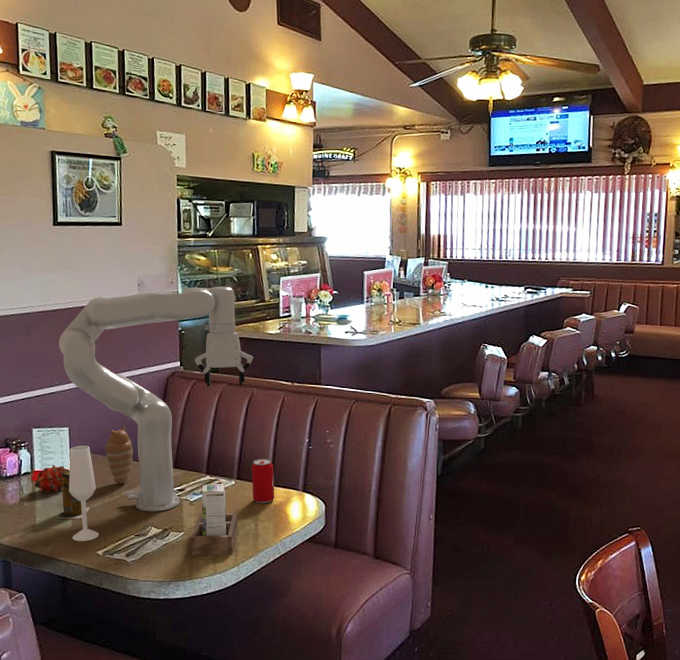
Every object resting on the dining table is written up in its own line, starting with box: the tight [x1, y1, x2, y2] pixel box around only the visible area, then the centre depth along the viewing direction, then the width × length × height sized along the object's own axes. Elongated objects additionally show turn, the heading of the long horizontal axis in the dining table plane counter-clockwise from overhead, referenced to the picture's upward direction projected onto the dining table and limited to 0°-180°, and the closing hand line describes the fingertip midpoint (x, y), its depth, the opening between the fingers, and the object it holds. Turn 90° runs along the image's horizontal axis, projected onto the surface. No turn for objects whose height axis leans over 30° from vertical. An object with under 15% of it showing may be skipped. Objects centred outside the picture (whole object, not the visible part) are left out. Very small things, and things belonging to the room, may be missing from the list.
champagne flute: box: [69, 445, 99, 542], centre depth 207 cm, size 7×7×24 cm
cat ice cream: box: [104, 426, 134, 485], centre depth 249 cm, size 9×8×18 cm
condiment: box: [55, 469, 91, 520], centre depth 225 cm, size 7×8×12 cm
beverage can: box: [251, 458, 275, 504], centre depth 232 cm, size 6×6×12 cm
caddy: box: [190, 512, 239, 556], centre depth 203 cm, size 10×16×7 cm, turn 3°
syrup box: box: [201, 483, 226, 536], centre depth 200 cm, size 6×6×14 cm
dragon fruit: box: [34, 464, 69, 494], centre depth 245 cm, size 8×8×12 cm
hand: (225, 385), depth 237 cm, fingers open, 9 cm apart
